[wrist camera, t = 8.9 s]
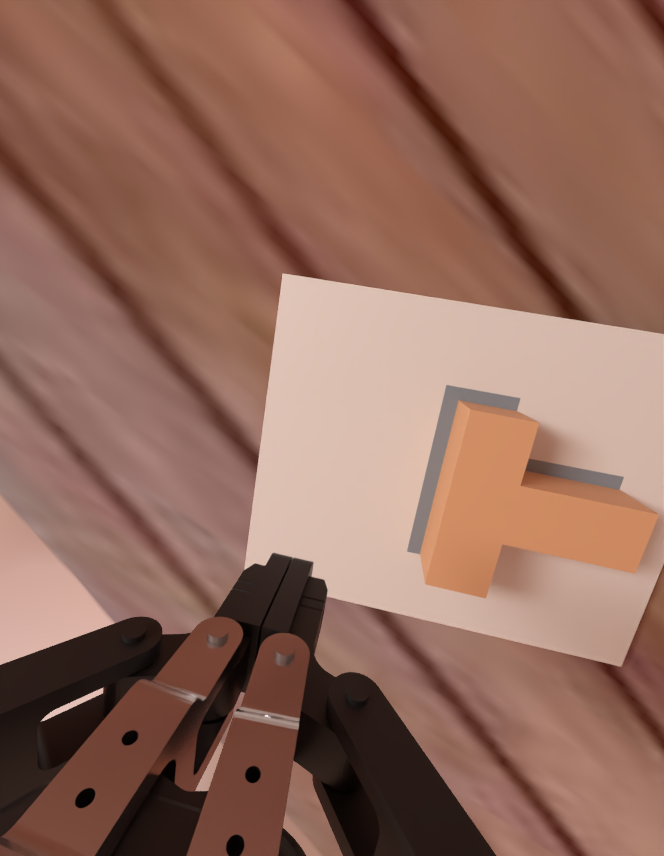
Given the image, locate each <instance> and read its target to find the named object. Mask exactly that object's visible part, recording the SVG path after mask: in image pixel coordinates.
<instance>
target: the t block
mask: <svg viewBox="0 0 664 856" xmlns="http://www.w3.org/2000/svg"><path fill="white" fill-rule="evenodd" d="M538 427H539V422H537V421H535V420H533V419H532V418H530V417H528V416H526V415H524V414H522V413H520V412H518V411H514V410H508V409H503V408H498V407H492V406H487V405H482V404H476V403H471V402H466V401H460V400H458V404H457V408H456V412H455V416H454V420H453V424H452V428H451V432H450V436H449V440H448V444H447V448H446V452H445V456H444V460H443V464H442V467H441V471H440V475H439V479H438V483H437V487H436V491H435V495H434V499H433V503H432V507H431V511H430V515H429V519H428V523H427V527H426V531H425V535H424V539H423V543H422V547H421V551H420V557H421V563H422V569H423V575H424V581H425V584H426V585H430V586H434V587H439V588H443V589H447V590H451V591H456V592H460V593H464V594H468V595H473V596H477V597H481V598H486V597H487V593H488V590H489V587H490V583H491V580H492V577H493V574H494V570H495V567H496V564H497V561H498V557H499V554H500V551H501V548H502V544H503V545H508V546H512V547H517V548H521V549H526V550H530V551H535V552H539V553H544V554H548V555H553V556H557V557H562V558H566V559H571V560H575V561H580V562H585V563H589V564H594V565H598V566H603V567H607V568H612V569H616V570H621V571H625V572H630V573H634V574H635V573H636V571H637V568H638V566H639V563H640V561H641V558H642V556H643V553H644V551H645V548H646V546H647V543H648V541H649V538H650V536H651V533H652V531H653V529H654V526H655V524H656V521H657V519H658V516H659V514H657V513H656V512H654V511H653V510H651V509H650V508H648V507H646V506H645V505H643V504H642V503H640V502H638V501H637V500H635V499H634V498H632V497H630V496H629V495H627V494H626V493H624V492H622V491H621V490H618V489H613V488H608V487H603V486H598V485H593V484H588V483H583V482H579V481H574V480H569V479H564V478H559V477H554V476H549V475H544V474H539V473H534V472H529V471H525V469H526V466H527V463H528V459H529V456H530V453H531V450H532V446H533V443H534V440H535V436H536V433H537V430H538Z"/></svg>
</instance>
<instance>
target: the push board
mask: <svg viewBox="0 0 664 856" xmlns="http://www.w3.org/2000/svg"><path fill="white" fill-rule="evenodd" d="M458 400H460V401H466V402H471V403H476V404H482V405H487V406H492V407H498V408H503V409H508V410H514V411H518V412H520V413H522V414H524V415H526V416H528V417H530V418H532V419H533V420H535V421H537V422H539V427H538V430H537V433H536V436H535V440H534V443H533V446H532V450H531V453H530V456H529V459H528V463H527V466H526V469H525V471H529V472H534V473H539V474H544V475H549V476H554V477H559V478H564V479H569V480H574V481H579V482H583V483H588V484H593V485H598V486H603V487H608V488H613V489H618V490H621V491H622V492H624V493H626V494H627V495H629V496H630V497H632V498H634V499H635V500H637V501H638V502H640V503H642V504H643V505H645V506H646V507H648V508H650V509H651V510H653V511H654V512H656V513H657V514H659V516H658V519H657V521H656V524H655V526H654V529H653V531H652V533H651V536H650V538H649V541H648V543H647V546H646V548H645V551H644V553H643V556H642V558H641V561H640V563H639V566H638V568H637V571H636V573H635V574H634V573H630V572H625V571H621V570H616V569H612V568H607V567H603V566H598V565H594V564H589V563H585V562H580V561H575V560H571V559H566V558H562V557H557V556H553V555H548V554H544V553H539V552H535V551H530V550H526V549H521V548H517V547H512V546H508V545H503V544H502V548H501V551H500V554H499V557H498V561H497V564H496V567H495V570H494V574H493V577H492V580H491V583H490V587H489V590H488V593H487V597H486V598H481V597H477V596H473V595H468V594H464V593H460V592H456V591H451V590H447V589H443V588H439V587H434V586H430V585H426V584H425V581H424V575H423V569H422V563H421V557H420V551H421V547H422V543H423V539H424V535H425V531H426V527H427V523H428V519H429V515H430V511H431V507H432V503H433V499H434V495H435V491H436V487H437V483H438V479H439V475H440V471H441V467H442V464H443V460H444V456H445V452H446V448H447V444H448V440H449V436H450V432H451V428H452V424H453V420H454V416H455V412H456V408H457V404H458ZM272 553H277V554H281V555H286V556H290V557H293V558H294V557H295V558H299V559H303V560H307V561H312V562H314V564H313V571H312V577H315V578H319V579H323V580H325V583H326V586H327V589H328V592H327V597H331V598H335V599H339V600H344V601H348V602H352V603H356V604H360V605H365V606H369V607H373V608H377V609H381V610H386V611H390V612H394V613H398V614H402V615H406V616H411V617H415V618H419V619H423V620H427V621H432V622H436V623H440V624H444V625H448V626H453V627H457V628H461V629H465V630H469V631H474V632H478V633H482V634H486V635H490V636H495V637H499V638H503V639H507V640H511V641H516V642H520V643H524V644H528V645H532V646H536V647H541V648H545V649H549V650H553V651H557V652H562V653H566V654H570V655H574V656H578V657H583V658H587V659H591V660H595V661H599V662H604V663H608V664H612V665H616V666H620V667H621V666H622V664H623V661H624V659H625V657H626V654H627V652H628V649H629V647H630V644H631V642H632V640H633V637H634V635H635V632H636V630H637V627H638V625H639V623H640V620H641V618H642V615H643V613H644V610H645V608H646V606H647V603H648V601H649V598H650V596H651V594H652V591H653V589H654V586H655V584H656V581H657V579H658V577H659V574H660V572H661V569H662V567H663V564H664V334H659V333H653V332H647V331H641V330H634V329H628V328H622V327H615V326H609V325H603V324H597V323H590V322H584V321H578V320H572V319H565V318H559V317H553V316H546V315H540V314H534V313H528V312H521V311H515V310H509V309H502V308H496V307H490V306H484V305H477V304H471V303H465V302H459V301H452V300H446V299H440V298H433V297H427V296H421V295H415V294H408V293H402V292H396V291H390V290H383V289H377V288H371V287H364V286H358V285H352V284H346V283H339V282H333V281H327V280H321V279H314V278H308V277H302V276H295V275H289V274H283V276H282V283H281V291H280V299H279V307H278V314H277V322H276V330H275V337H274V345H273V353H272V361H271V368H270V376H269V384H268V391H267V399H266V407H265V414H264V422H263V430H262V438H261V445H260V453H259V461H258V468H257V476H256V484H255V492H254V499H253V507H252V515H251V522H250V530H249V538H248V545H247V553H246V561H245V569H247V568H248V567H250V566H252V565H253V564H255V563H256V564H260V565H264V566H265V565H266V564H267V562H268V560H269V558H270V556H271V555H272ZM245 569H244V570H245Z"/></svg>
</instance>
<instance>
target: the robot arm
mask: <svg viewBox="0 0 664 856" xmlns="http://www.w3.org/2000/svg"><path fill="white" fill-rule="evenodd" d="M313 564H314V562H312V561H307V560H303V559H299V558H295V557H294V558H293V557H290V556H286V555H281V554H277V553H272V555H271V556H270V558H269V560H268V562H267V564H266V565H265V566H264V565H260V564H256V563H255V564H253V565H252V566H250V567H248V568H247V569H245V570H244V571H243V573H242V574H241V576H240V577H239V579H238V581H237V582H236V584H235V585H234V587H233V589H232V590H231V591H230V593H229V595H228V596H227V598H226V599H225V601H224V602H223V604H222V605H221V607H220V609H219V610H218V612H217V613H216V615H215V616H214V617H213V618H209V619H206V620H204V621H202V622H201V623H200V624H198V625H197V626H196V627H195V629H194V630H193V631H192V632H191V633H188V634H165V635H162V627H161V625H160V624H159V622H157V621H156V620H154V619H152V618H149V617H133V618H129V619H126V620H123V621H120V622H118V623H115V624H112V625H109V626H107V627H104V628H101V629H98V630H96V631H93V632H90V633H87V634H84V635H82V636H79V637H76V638H73V639H71V640H68V641H65V642H63V643H60V644H57V645H54V646H51V647H49V648H46V649H43V650H40V651H38V652H35V653H32V654H30V655H27V656H24V657H21V658H18V659H16V660H13V661H10V662H7V663H5V664H2V665H0V856H306V855H305V853H304V851H303V850H302V848H301V847H300V845H299V844H298V843H297V842H296V840H295V839H294V838H293V837H292V836H291V835H290V834H289V833H288V832H287V831H286V830H285V829H283V822H284V816H285V809H286V803H287V797H288V791H289V784H290V778H291V772H292V766H293V760H294V761H295V762H297V763H298V764H299V765H301V766H302V767H303V768H305V769H306V770H307V771H309V772H310V773H311V774H313V775H312V776H313V785H314V788H315V791H316V793H317V796H318V798H319V800H320V803H321V805H322V807H323V810H324V812H325V814H326V817H327V819H328V821H329V824H330V826H331V828H332V831H333V833H334V835H335V838H336V840H337V843H338V845H339V847H340V850H341V852H342V854H343V856H496V855H495V853H494V852H493V850H492V849H491V847H490V846H489V845H488V843H487V842H486V840H485V839H484V837H483V836H482V835H481V833H480V832H479V830H478V829H477V827H476V826H475V825H474V823H473V822H472V820H471V819H470V817H469V816H468V815H467V813H466V812H465V810H464V809H463V807H462V806H461V805H460V803H459V802H458V800H457V799H456V797H455V796H454V795H453V793H452V792H451V790H450V789H449V787H448V786H447V784H446V783H445V782H444V780H443V779H442V777H441V776H440V774H439V773H438V772H437V770H436V769H435V767H434V766H433V764H432V763H431V762H430V760H429V759H428V757H427V756H426V754H425V753H424V752H423V750H422V749H421V747H420V746H419V744H418V743H417V742H416V740H415V739H414V737H413V736H412V734H411V733H410V732H409V730H408V729H407V727H406V726H405V724H404V723H403V722H402V720H401V719H400V717H399V716H398V714H397V713H396V712H395V710H394V709H393V707H392V706H391V704H390V703H389V701H388V700H387V699H386V697H385V696H384V694H383V693H382V691H381V690H380V689H379V687H378V686H377V685H376V683H374V682H373V681H372V680H371V679H370V678H368V677H366V676H365V675H362V674H359V673H354V672H348V673H343V674H341V675H339V676H337V677H334V676H333V675H331V674H329V673H328V672H326V671H325V670H324V669H323V668H322V667H321V666H320V665H319V664H318V662H317V661H316V658H315V656H314V654H315V649H316V645H317V641H318V637H319V633H320V629H321V624H322V619H323V614H324V608H325V603H326V597H327V592H328V589H327V586H326V583H325V580H323V579H319V578H315V577H312V571H313ZM103 687H104V688H103ZM100 688H103V689H104V690H103V694H101V695H99V696H96V697H95V698H92V699H90V700H88V701H86V702H84V703H82V704H79V705H77V706H75V707H73V708H71V709H69V710H67V711H65V712H62V713H60V714H58V715H56V716H54V717H52V718H49V719H47V720H45V721H42V722H41V720H42V719H43V718H44V717H45V716H46V715H47V714H49V713H50V712H51V711H53V710H55V709H56V708H59V707H61V706H63V705H65V704H68V703H70V702H72V701H74V700H76V699H79V698H81V697H83V696H85V695H87V694H89V693H92V692H94V691H96V690H98V689H100ZM241 692H244V693H245V695H244V698H243V701H242V704H241V707H240V709H237V710H236V712H235V714H234V716H233V719H232V722H231V725H230V728H229V731H228V734H227V737H226V740H225V743H224V746H223V749H222V752H221V755H220V758H219V761H218V764H217V767H216V770H215V773H214V776H213V779H212V782H211V785H210V788H209V790H208V791H195V790H196V787H197V785H198V783H199V781H200V779H201V778H202V775H203V774H204V771H205V770H206V768H207V765H208V764H209V762H210V760H211V758H212V756H213V754H214V752H215V750H216V748H217V746H218V744H219V742H220V740H221V738H222V736H223V734H224V732H225V730H226V728H227V727H228V725H229V723H230V721H231V718H232V715H233V710H234V706H235V704H236V702H237V700H238V697H239V695H240V693H241Z"/></svg>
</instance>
